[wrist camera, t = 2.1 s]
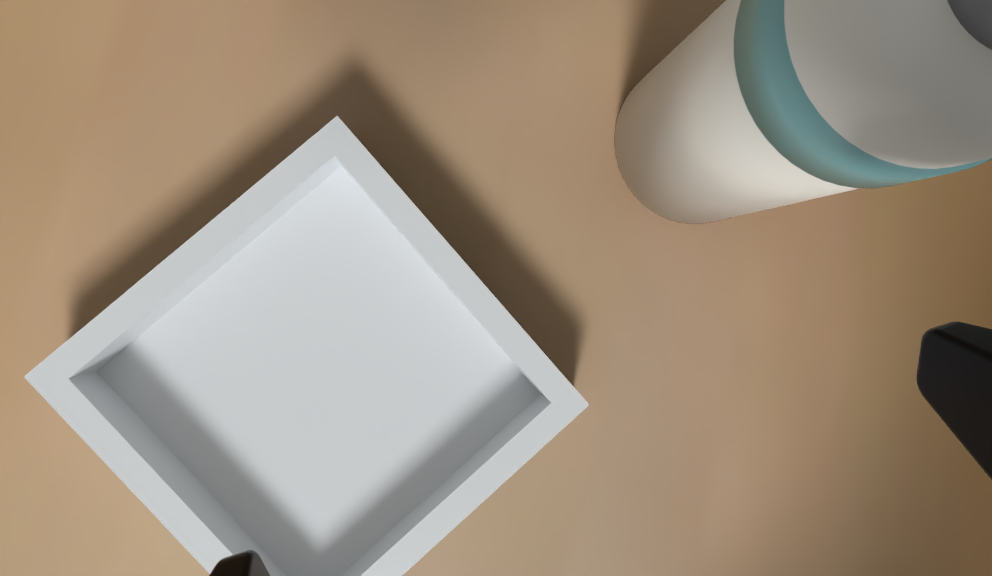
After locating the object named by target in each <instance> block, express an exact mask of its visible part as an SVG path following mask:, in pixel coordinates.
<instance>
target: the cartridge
mask: <svg viewBox="0 0 992 576" xmlns="http://www.w3.org/2000/svg"><path fill="white" fill-rule="evenodd" d="M614 147H615V154H616V159H617V163H618V167H619V170H620V172H621V175H622V177H623V179H624V181H625V183H626V184H627V186H628V188H629V189H630V190H631V192H632V193H633V194H634V196H635V197H636V198H637V199H638V200H639V201H640V202H641V203H642V204H643V205H645V206H646V207H647V208H648V209H650V210H651V211H653V212H654V213H656V214H658V215H659V216H662V217H664V218H666V219H668V220H672V221H675V222H679V223H686V224H703V223H710V222H715V221H719V220H724V219H728V218H732V217H737V216H741V215H745V214H750V213H754V212H758V211H763V210H767V209H772V208H776V207H780V206H785V205H789V204H793V203H798V202H802V201H806V200H811V199H815V198H820V197H824V196H828V195H833V194H837V193H841V192H846V191H850V190H854V189H859V188H881V187H889V186H894V185H898V184H903V183H908V182H912V181H917V180H921V179H926V178H930V177H935V176H940V175H944V174H949V173H953V172H957V171H961V170H965V169H969V168H972V167H975V166H977V165H980V164H982V163H984V162H987V161H989V160H991V159H992V0H726V1H725V2H724V3H723V4H721V5H720V6H719V7H718V8H717V9H716V10H715V11H714V12H713V13H712V14H711V15H710V16H709V17H708V18H707V19H705V20H704V21H703V22H702V23H701V24H700V25H699V26H698V27H697V28H696V29H695V30H694V31H693V32H692V33H691V34H689V35H688V36H687V37H686V38H685V39H684V40H683V41H682V42H681V43H680V44H679V45H678V46H677V47H676V48H675V49H674V50H672V51H671V52H670V53H669V54H668V55H667V56H666V57H665V58H664V59H663V60H662V61H661V62H660V63H659V64H658V65H656V66H655V67H654V68H653V69H652V70H651V71H650V72H649V73H648V74H647V75H646V76H645V77H644V78H643V79H642V80H641V81H640V82H639V83H638V84H636V85H635V86H634V88H633V89H632V90H631V92H630V93H629V94H628V96H627V97H626V99H625V101H624V103H623V104H622V107H621V109H620V112H619V114H618V118H617V122H616V127H615V135H614Z"/></svg>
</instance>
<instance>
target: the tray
mask: <svg viewBox="0 0 992 576" xmlns="http://www.w3.org/2000/svg"><path fill="white" fill-rule="evenodd" d="M24 377H25V378H26V380H27V381H28V382H29V383H30V384H31V385H32V386H33V387H34V388H35V389H36V390H37V391H38V392H39V393H40V394H41V395H42V396H43V398H44V399H45V400H46V401H47V402H48V403H49V404H50V405H51V406H52V407H53V408H54V409H55V410H56V411H57V412H58V413H59V415H60V416H61V417H62V418H63V419H64V420H65V421H66V422H67V423H68V424H69V425H70V426H71V427H72V428H73V429H74V430H75V431H76V433H77V434H78V435H79V436H80V437H81V438H82V439H83V440H84V441H85V442H86V443H87V444H88V445H89V446H90V447H91V448H92V450H93V451H94V452H95V453H96V454H97V455H98V456H99V457H100V458H101V459H102V460H103V461H104V462H105V463H106V464H107V465H108V467H109V468H110V469H111V470H112V471H113V472H114V473H115V474H116V475H117V476H118V477H119V478H120V479H121V480H122V481H123V482H124V483H125V485H126V486H127V487H128V488H129V489H130V490H131V491H132V492H133V493H134V494H135V495H136V496H137V497H138V498H139V499H140V500H141V502H142V503H143V504H144V505H145V506H146V507H147V508H148V509H149V510H150V511H151V512H152V513H153V514H154V515H155V516H156V517H157V519H158V520H159V521H160V522H161V523H162V524H163V525H164V526H165V527H166V528H167V529H168V530H169V531H170V532H171V533H172V534H173V535H174V537H175V538H176V539H177V540H178V541H179V542H180V543H181V544H182V545H183V546H184V547H185V548H186V549H187V550H188V551H189V552H190V554H191V555H192V556H193V557H194V558H195V559H196V560H197V561H198V562H199V563H200V564H201V565H202V566H203V567H204V568H205V569H206V571H207V572H208V573H209V574H210V573H211V572H212V570H213V568H214V567H215V565H216V564H217V563H218V562H219V561H220V560H221V559H223V558H225V557H228V556H231V555H234V554H237V553H241V552H244V551H247V550H254V551H256V552H257V553H258V554H259V556H260V557H261V559H262V561H263V563H264V565H265V567H266V569H267V570H268V572H269V574H270V576H402V575H403V574H404V573H405V572H407V571H408V570H409V569H410V568H411V567H412V566H413V565H414V564H415V563H416V562H417V561H419V560H420V559H421V558H422V557H423V556H424V555H425V554H426V553H427V552H428V551H430V550H431V549H432V548H433V547H434V546H435V545H436V544H437V543H438V542H439V541H441V540H442V539H443V538H444V537H445V536H446V535H447V534H448V533H449V532H450V531H451V530H453V529H454V528H455V527H456V526H457V525H458V524H459V523H460V522H461V521H462V520H464V519H465V518H466V517H467V516H468V515H469V514H470V513H471V512H472V511H473V510H474V509H476V508H477V507H478V506H479V505H480V504H481V503H482V502H483V501H484V500H485V499H487V498H488V497H489V496H490V495H491V494H492V493H493V492H494V491H495V490H496V489H498V488H499V487H500V486H501V485H502V484H503V483H504V482H505V481H506V480H507V479H508V478H510V477H511V476H512V475H513V474H514V473H515V472H516V471H517V470H518V469H519V468H521V467H522V466H523V465H524V464H525V463H526V462H527V461H528V460H529V459H530V458H531V457H533V456H534V455H535V454H536V453H537V452H538V451H539V450H540V449H541V448H542V447H544V446H545V445H546V444H547V443H548V442H549V441H550V440H551V439H552V438H553V437H555V436H556V435H557V434H558V433H559V432H560V431H561V430H562V429H563V428H564V427H565V426H567V425H568V424H569V423H570V422H571V421H572V420H573V419H574V418H575V417H576V416H578V415H579V414H580V413H581V412H582V411H583V410H584V409H585V408H586V407H587V406H588V405H589V404H588V403H587V402H586V400H585V399H584V398H583V397H582V396H581V395H580V394H579V392H578V391H577V390H576V389H575V388H574V387H573V386H572V384H571V383H570V382H569V381H568V380H567V379H566V378H565V376H564V375H563V374H562V373H561V372H560V371H559V370H558V368H557V367H556V366H555V365H554V364H553V363H552V361H551V360H550V359H549V358H548V357H547V356H546V355H545V353H544V352H543V351H542V350H541V349H540V348H539V347H538V345H537V344H536V343H535V342H534V341H533V340H532V339H531V337H530V336H529V335H528V334H527V333H526V332H525V331H524V329H523V328H522V327H521V326H520V325H519V324H518V322H517V321H516V320H515V319H514V318H513V317H512V316H511V314H510V313H509V312H508V311H507V310H506V309H505V308H504V306H503V305H502V304H501V303H500V302H499V301H498V300H497V298H496V297H495V296H494V295H493V294H492V293H491V292H490V290H489V289H488V288H487V287H486V286H485V285H484V283H483V282H482V281H481V280H480V279H479V278H478V277H477V275H476V274H475V273H474V272H473V271H472V270H471V269H470V267H469V266H468V265H467V264H466V263H465V262H464V261H463V259H462V258H461V257H460V256H459V255H458V254H457V252H456V251H455V250H454V249H453V248H452V247H451V246H450V244H449V243H448V242H447V241H446V240H445V239H444V238H443V236H442V235H441V234H440V233H439V232H438V231H437V230H436V228H435V227H434V226H433V225H432V224H431V223H430V222H429V220H428V219H427V218H426V217H425V216H424V215H423V213H422V212H421V211H420V210H419V209H418V208H417V207H416V205H415V204H414V203H413V202H412V201H411V200H410V199H409V197H408V196H407V195H406V194H405V193H404V192H403V191H402V189H401V188H400V187H399V186H398V185H397V184H396V183H395V181H394V180H393V179H392V178H391V177H390V176H389V174H388V173H387V172H386V171H385V170H384V169H383V168H382V166H381V165H380V164H379V163H378V162H377V161H376V160H375V158H374V157H373V156H372V155H371V154H370V153H369V152H368V150H367V149H366V148H365V147H364V146H363V145H362V144H361V142H360V141H359V140H358V139H357V138H356V137H355V135H354V134H353V133H352V132H351V131H350V130H349V129H348V127H347V126H346V125H345V124H344V123H343V122H342V121H341V119H340V118H339V117H338V116H336V117H335V118H334V119H332V120H331V121H330V122H329V123H328V124H326V125H325V126H324V127H323V128H322V129H320V130H319V131H318V132H317V133H316V134H314V135H313V136H312V137H311V138H310V139H308V140H307V141H306V142H305V143H304V144H302V145H301V146H300V147H299V148H298V149H296V150H295V151H294V152H293V153H292V154H290V155H289V156H288V157H287V158H286V159H284V160H283V161H282V162H281V163H280V164H278V165H277V166H276V167H275V168H274V169H272V170H271V171H270V172H269V173H268V174H266V175H265V176H264V177H263V178H262V179H260V180H259V181H258V182H257V183H256V184H254V185H253V186H252V187H251V188H250V189H248V190H247V191H246V192H245V193H244V194H242V195H241V196H240V197H239V198H238V199H236V200H235V201H234V202H233V203H232V204H230V205H229V206H228V207H227V208H226V209H224V210H223V211H222V212H221V213H220V214H218V215H217V216H216V217H215V218H214V219H212V220H211V221H210V222H209V223H208V224H206V225H205V226H204V227H203V228H202V229H200V230H199V231H198V232H197V233H196V234H194V235H193V236H192V237H191V238H190V239H188V240H187V241H186V242H185V243H184V244H182V245H181V246H180V247H179V248H178V249H176V250H175V251H174V252H173V253H172V254H170V255H169V256H168V257H167V258H166V259H164V260H163V261H162V262H161V263H160V264H158V265H157V266H156V267H155V268H154V269H152V270H151V271H150V272H149V273H148V274H146V275H145V276H144V277H143V278H142V279H140V280H139V281H138V282H137V283H136V284H134V285H133V286H132V287H131V288H130V289H128V290H127V291H126V292H125V293H124V294H122V295H121V296H120V297H119V298H118V299H116V300H115V301H114V302H113V303H112V304H110V305H109V306H108V307H107V308H106V309H104V310H103V311H102V312H101V313H100V314H98V315H97V316H96V317H95V318H94V319H92V320H91V321H90V322H89V323H88V324H86V325H85V326H84V327H83V328H82V329H80V330H79V331H78V332H77V333H76V334H74V335H73V336H72V337H71V338H70V339H68V340H67V341H66V342H65V343H64V344H62V345H61V346H60V347H59V348H58V349H56V350H55V351H54V352H53V353H52V354H50V355H49V356H48V357H47V358H46V359H44V360H43V361H42V362H41V363H40V364H38V365H37V366H36V367H35V368H34V369H32V370H31V371H30V372H29V373H28V374H26V375H25V376H24Z"/></svg>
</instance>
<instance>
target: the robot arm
mask: <svg viewBox="0 0 992 576" xmlns="http://www.w3.org/2000/svg"><path fill="white" fill-rule="evenodd" d="M917 384H918V387H919V390H920V391H921V393H922V395H923V396H924V398H925V399H926V400H927V401H928V403H929V404H930V405H931V406H932V408H933V409H934V410H935V411H936V412H937V414H938V415H939V416H940V417H941V419H942V420H943V421H944V422H945V423H946V425H947V426H948V427H949V428H950V430H951V431H952V432H953V433H954V434H955V436H956V437H957V438H958V439H959V441H960V442H961V443H962V444H963V445H964V447H965V448H966V449H967V450H968V452H969V453H970V454H971V455H972V456H973V458H974V459H975V460H976V461H977V463H978V464H979V465H980V466H981V467H982V469H983V470H984V471H985V472H986V473H987V475H988V476H989V477H990V478H991V479H992V329H987V328H983V327H979V326H975V325H971V324H967V323H963V322H950V323H947V324H944V325H940V326H937V327H934V328H931V329H929V330H927V331H926V332H925V334H924V335H923V337H922V341H921V348H920V355H919V362H918V369H917ZM209 576H270V574H269V572H268V570H267V569H266V567H265V565H264V563H263V561H262V559H261V557H260V556H259V554H258V553H257V552H256V551H254V550H247V551H244V552H241V553H237V554H234V555H231V556H228V557H225V558H223V559H221V560H220V561H219V562H218V563H217V564H216V565H215V567H214V568H213V570H212V572H211V573H210V575H209Z"/></svg>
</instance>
